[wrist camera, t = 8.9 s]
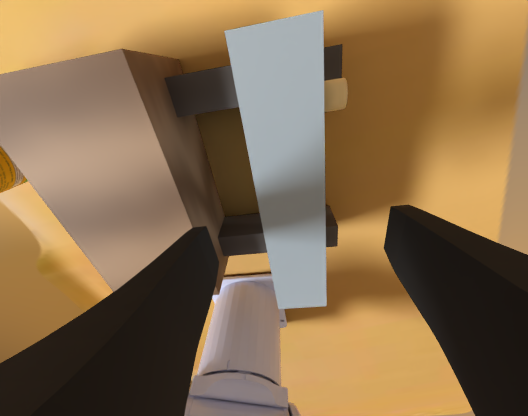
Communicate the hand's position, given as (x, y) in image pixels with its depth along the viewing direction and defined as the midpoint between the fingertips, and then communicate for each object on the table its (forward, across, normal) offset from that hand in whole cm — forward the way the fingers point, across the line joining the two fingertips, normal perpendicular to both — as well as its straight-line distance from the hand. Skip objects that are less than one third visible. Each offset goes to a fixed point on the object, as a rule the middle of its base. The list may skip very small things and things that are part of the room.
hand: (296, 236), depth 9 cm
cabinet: (+9, +5, 0) cm, 11 cm away
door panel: (+10, 0, 0) cm, 10 cm away
